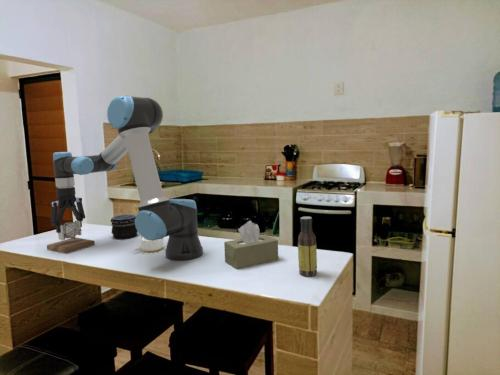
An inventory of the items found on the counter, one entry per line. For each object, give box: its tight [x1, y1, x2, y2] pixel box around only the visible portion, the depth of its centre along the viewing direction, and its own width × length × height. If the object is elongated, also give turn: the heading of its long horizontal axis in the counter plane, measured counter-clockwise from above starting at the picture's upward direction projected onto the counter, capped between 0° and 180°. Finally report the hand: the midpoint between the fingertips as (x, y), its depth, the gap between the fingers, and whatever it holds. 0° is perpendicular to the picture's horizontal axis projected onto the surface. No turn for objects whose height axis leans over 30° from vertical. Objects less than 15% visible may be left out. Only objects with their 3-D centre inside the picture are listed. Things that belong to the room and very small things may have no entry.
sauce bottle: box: [297, 215, 318, 278], centre depth 128 cm, size 6×6×20 cm
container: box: [110, 213, 138, 240], centre depth 185 cm, size 13×13×10 cm
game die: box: [63, 220, 82, 240], centre depth 168 cm, size 9×8×10 cm
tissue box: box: [223, 220, 279, 270], centre depth 143 cm, size 19×10×16 cm, turn 119°
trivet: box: [46, 236, 96, 254], centre depth 169 cm, size 14×14×2 cm
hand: (70, 237), depth 168 cm, fingers closed on game die, 8 cm apart
